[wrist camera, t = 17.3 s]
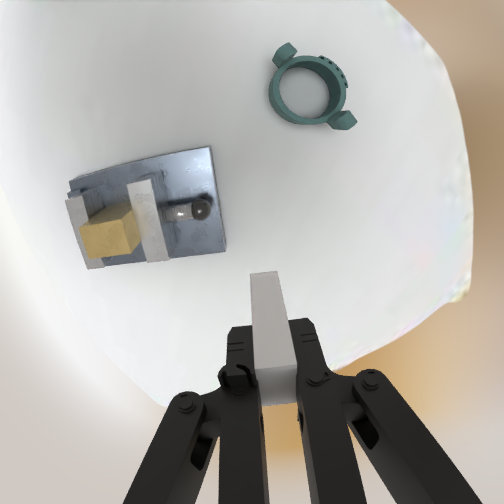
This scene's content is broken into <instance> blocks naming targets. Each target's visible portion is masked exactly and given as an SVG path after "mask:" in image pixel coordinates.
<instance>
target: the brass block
mask: <svg viewBox="0 0 504 504" xmlns="http://www.w3.org/2000/svg"><path fill="white" fill-rule="evenodd" d="M79 231H80V234H81V237H82V240H83V243H84V246H85V249H86V252H87V255H88V258H89V259H94V258H101V257H109V256H116V255H123V254H131V253H132V252H133V250H134V249H135V248H136V246H137V245H138V244H139V242H140V241H141V239H140V236H139V232H138V228H137V225H136V221H135V217H134V213H133V209H132V205H131V201H130V202H125V203H120V204H116V205H111V206H107V207H106V208H104V209H103V210H102V211H100V212H99V213H98V214H96V215H95V216H93V217H92V218H91V219H89V220H88V221H87V222H86V223H84V224H83V225H82V226H80V227H79Z"/></svg>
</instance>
